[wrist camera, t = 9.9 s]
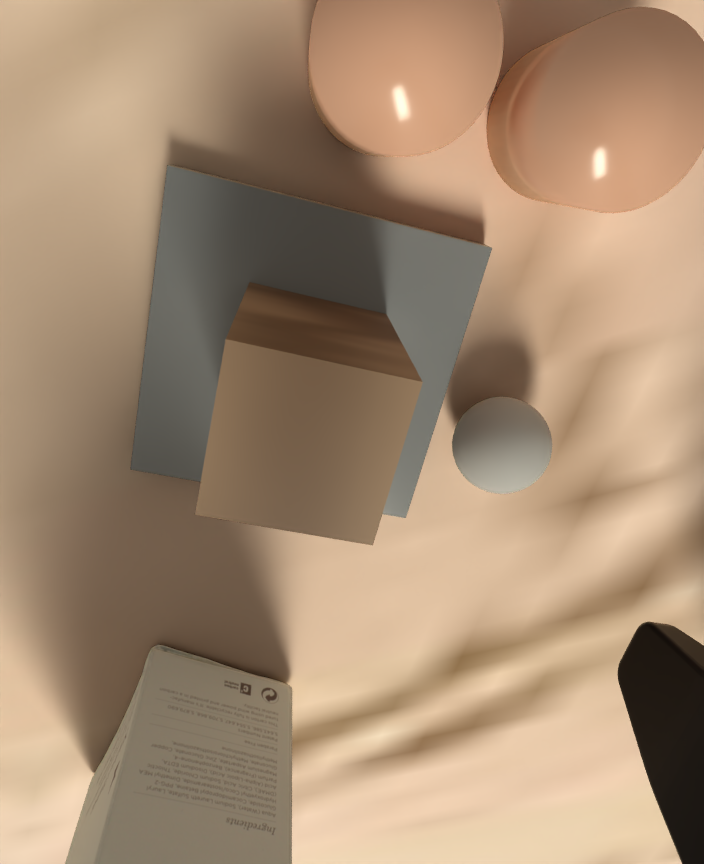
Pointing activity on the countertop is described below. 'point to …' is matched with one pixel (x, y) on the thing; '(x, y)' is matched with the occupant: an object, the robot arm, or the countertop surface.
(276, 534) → the countertop surface
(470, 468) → the grey ball
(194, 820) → the skincare box
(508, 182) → the peach rounded capsule
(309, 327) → the walnut block
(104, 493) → the countertop surface
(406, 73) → the peach capsule shape
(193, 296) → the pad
